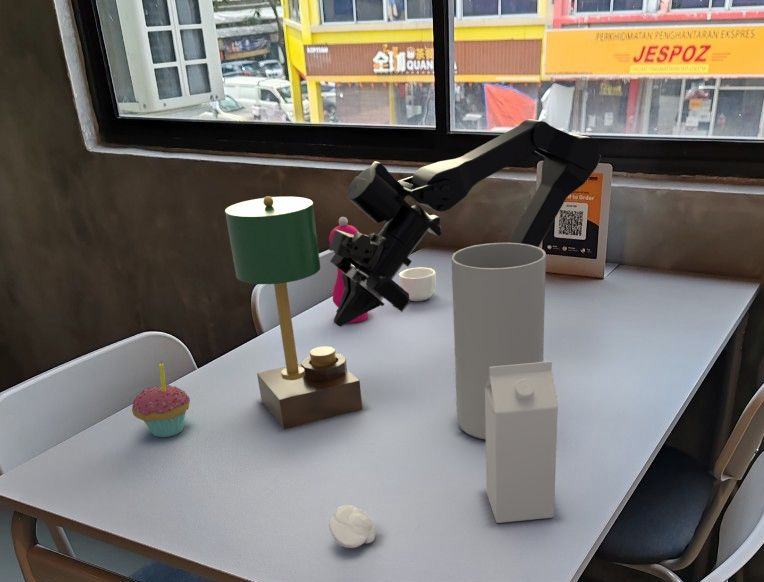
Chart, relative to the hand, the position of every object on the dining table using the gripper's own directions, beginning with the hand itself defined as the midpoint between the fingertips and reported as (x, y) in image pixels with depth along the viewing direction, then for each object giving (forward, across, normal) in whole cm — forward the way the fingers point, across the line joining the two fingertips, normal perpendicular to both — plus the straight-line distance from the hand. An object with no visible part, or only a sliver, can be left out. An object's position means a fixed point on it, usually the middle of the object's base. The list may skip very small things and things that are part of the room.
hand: (336, 324), depth 128 cm
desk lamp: (+10, +3, -2) cm, 11 cm away
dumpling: (+19, +40, -1) cm, 44 cm away
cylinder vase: (-3, +22, +20) cm, 30 cm away
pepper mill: (-2, -35, +20) cm, 41 cm away
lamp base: (+13, 0, +5) cm, 14 cm away
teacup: (-15, -39, +32) cm, 53 cm away
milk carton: (+4, +43, +14) cm, 45 cm away
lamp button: (+6, 0, +2) cm, 6 cm away
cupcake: (+29, -4, -11) cm, 31 cm away
